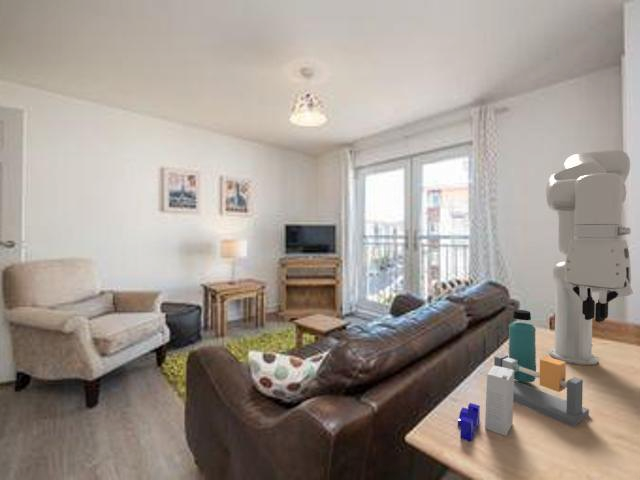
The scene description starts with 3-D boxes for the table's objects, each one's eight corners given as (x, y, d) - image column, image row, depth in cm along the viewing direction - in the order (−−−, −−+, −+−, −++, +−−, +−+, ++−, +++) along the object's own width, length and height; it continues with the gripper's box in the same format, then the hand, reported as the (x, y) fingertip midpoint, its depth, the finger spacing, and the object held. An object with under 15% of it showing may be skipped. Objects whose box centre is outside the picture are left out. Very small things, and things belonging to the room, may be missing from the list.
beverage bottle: (540, 389, 86) (541, 314, 85) (512, 387, 87) (513, 313, 87) (529, 378, 92) (530, 308, 92) (504, 376, 94) (505, 307, 93)
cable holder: (462, 418, 74) (462, 400, 74) (479, 423, 72) (479, 405, 71) (452, 436, 67) (452, 417, 67) (471, 442, 65) (471, 423, 65)
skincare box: (491, 416, 74) (492, 363, 73) (514, 424, 71) (514, 369, 70) (484, 429, 69) (484, 373, 69) (508, 438, 66) (509, 379, 66)
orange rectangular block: (546, 381, 79) (546, 356, 79) (565, 388, 75) (565, 362, 75) (539, 385, 77) (539, 359, 77) (558, 392, 74) (559, 365, 74)
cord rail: (504, 382, 90) (504, 351, 90) (588, 415, 74) (589, 378, 74) (487, 390, 86) (487, 357, 85) (573, 427, 70) (574, 387, 69)
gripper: (653, 233, 64) (650, 326, 65) (562, 232, 77) (560, 310, 78) (640, 234, 60) (638, 332, 61) (547, 233, 73) (545, 314, 74)
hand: (594, 319), depth 69 cm, fingers closed
